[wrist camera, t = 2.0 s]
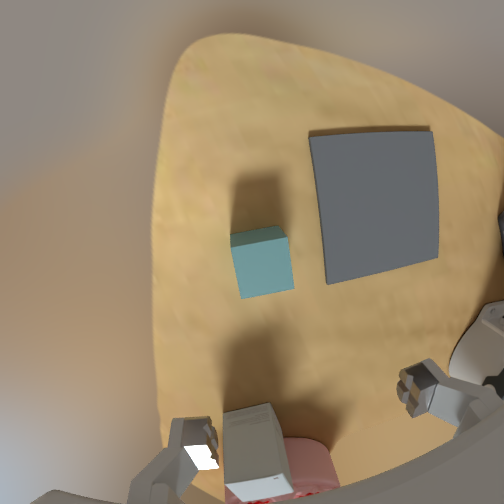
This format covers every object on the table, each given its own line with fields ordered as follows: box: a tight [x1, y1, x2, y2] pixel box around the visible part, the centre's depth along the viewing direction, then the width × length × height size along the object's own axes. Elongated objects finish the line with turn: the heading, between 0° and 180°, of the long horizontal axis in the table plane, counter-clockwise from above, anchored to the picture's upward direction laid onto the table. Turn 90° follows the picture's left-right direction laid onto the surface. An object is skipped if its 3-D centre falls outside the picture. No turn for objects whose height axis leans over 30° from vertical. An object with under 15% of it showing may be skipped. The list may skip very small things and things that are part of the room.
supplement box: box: [223, 403, 294, 502], centre depth 32 cm, size 7×7×13 cm
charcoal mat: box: [308, 131, 439, 285], centre depth 30 cm, size 16×16×1 cm
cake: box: [225, 437, 340, 504], centre depth 36 cm, size 20×20×14 cm
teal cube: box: [230, 226, 294, 299], centre depth 28 cm, size 5×5×5 cm
